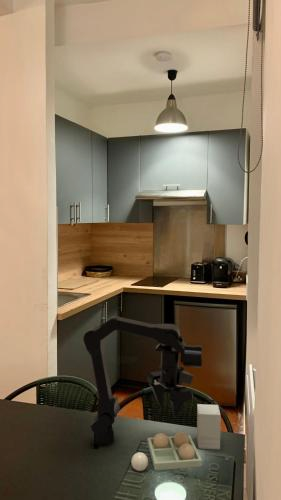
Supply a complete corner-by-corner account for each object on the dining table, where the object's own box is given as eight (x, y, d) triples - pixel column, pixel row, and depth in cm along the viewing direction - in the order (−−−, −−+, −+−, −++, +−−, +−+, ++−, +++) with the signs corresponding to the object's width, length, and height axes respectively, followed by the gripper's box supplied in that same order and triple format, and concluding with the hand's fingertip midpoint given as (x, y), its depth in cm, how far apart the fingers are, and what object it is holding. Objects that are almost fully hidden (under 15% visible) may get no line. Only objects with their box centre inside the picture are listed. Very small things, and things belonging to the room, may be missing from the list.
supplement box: (218, 440, 137) (218, 404, 136) (220, 452, 130) (221, 414, 129) (196, 438, 138) (197, 403, 137) (197, 451, 131) (197, 413, 130)
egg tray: (154, 473, 119) (154, 463, 119) (147, 446, 133) (147, 437, 133) (201, 469, 121) (202, 460, 120) (189, 443, 135) (189, 435, 135)
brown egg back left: (154, 454, 127) (154, 439, 127) (152, 445, 132) (152, 430, 132) (170, 453, 128) (170, 437, 127) (166, 444, 133) (167, 429, 132)
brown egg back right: (175, 452, 128) (175, 437, 127) (172, 444, 133) (172, 429, 132) (190, 451, 128) (191, 436, 128) (187, 443, 133) (187, 428, 133)
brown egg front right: (180, 465, 121) (180, 449, 121) (176, 456, 126) (177, 440, 126) (196, 464, 122) (196, 448, 121) (192, 454, 127) (192, 439, 126)
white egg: (132, 475, 117) (132, 459, 117) (130, 465, 122) (130, 449, 122) (149, 474, 118) (149, 457, 117) (146, 464, 123) (146, 448, 122)
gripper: (207, 370, 125) (205, 418, 126) (174, 352, 141) (173, 395, 142) (177, 376, 119) (176, 426, 120) (147, 356, 136) (145, 401, 137)
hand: (168, 411), depth 130 cm, fingers open, 9 cm apart
